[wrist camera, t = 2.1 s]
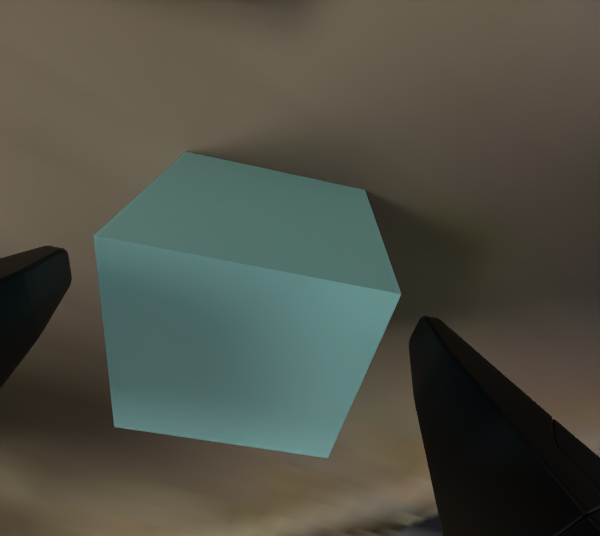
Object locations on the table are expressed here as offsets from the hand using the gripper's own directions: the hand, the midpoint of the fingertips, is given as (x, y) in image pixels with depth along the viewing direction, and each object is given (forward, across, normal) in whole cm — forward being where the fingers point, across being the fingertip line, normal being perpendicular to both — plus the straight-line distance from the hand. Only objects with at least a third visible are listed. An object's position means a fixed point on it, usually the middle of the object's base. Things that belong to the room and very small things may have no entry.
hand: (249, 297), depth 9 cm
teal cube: (+3, 0, 0) cm, 3 cm away
